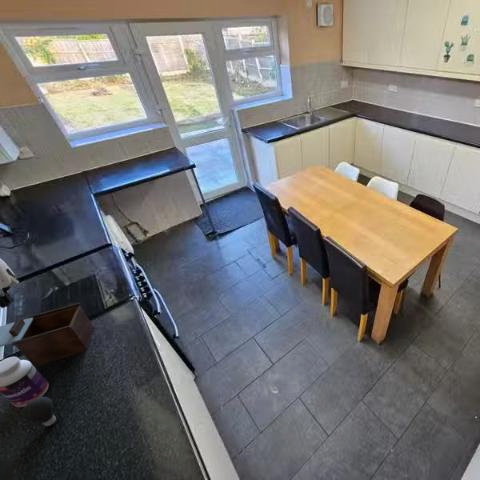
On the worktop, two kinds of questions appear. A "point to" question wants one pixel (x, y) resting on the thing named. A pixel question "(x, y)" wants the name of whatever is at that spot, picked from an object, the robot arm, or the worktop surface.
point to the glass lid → (14, 331)
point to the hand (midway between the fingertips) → (7, 304)
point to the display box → (56, 335)
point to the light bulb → (39, 411)
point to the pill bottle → (21, 381)
